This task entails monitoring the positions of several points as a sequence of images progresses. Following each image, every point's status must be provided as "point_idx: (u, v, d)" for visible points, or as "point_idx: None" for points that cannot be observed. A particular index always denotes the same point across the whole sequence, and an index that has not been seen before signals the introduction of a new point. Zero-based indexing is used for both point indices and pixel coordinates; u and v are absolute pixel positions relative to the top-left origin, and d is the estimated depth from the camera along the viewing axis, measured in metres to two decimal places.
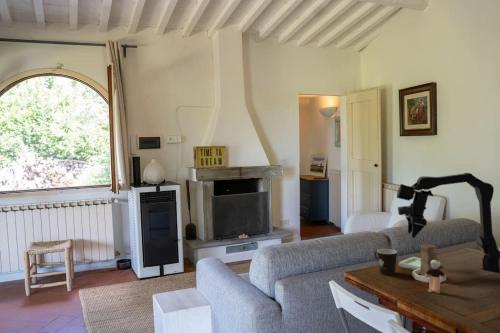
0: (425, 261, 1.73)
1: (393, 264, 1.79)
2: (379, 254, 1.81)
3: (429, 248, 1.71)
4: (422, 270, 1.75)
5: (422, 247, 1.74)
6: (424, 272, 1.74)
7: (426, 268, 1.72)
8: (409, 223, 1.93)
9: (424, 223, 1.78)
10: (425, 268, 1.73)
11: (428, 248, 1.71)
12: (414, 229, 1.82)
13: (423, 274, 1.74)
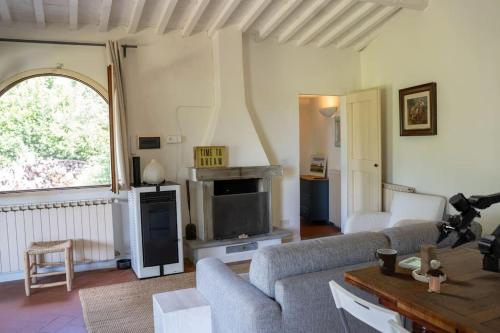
0: (425, 261, 1.73)
1: (393, 264, 1.79)
2: (379, 254, 1.81)
3: (429, 248, 1.71)
4: (422, 270, 1.75)
5: (422, 247, 1.74)
6: (424, 272, 1.74)
7: (426, 268, 1.72)
8: (441, 234, 1.81)
9: (474, 239, 1.68)
10: (425, 268, 1.73)
11: (428, 248, 1.71)
12: (458, 241, 1.70)
13: (423, 274, 1.74)
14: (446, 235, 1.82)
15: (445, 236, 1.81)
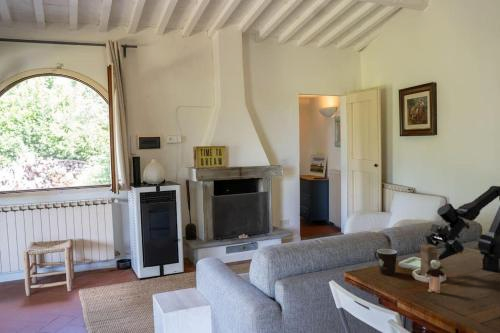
0: (425, 261, 1.73)
1: (393, 264, 1.79)
2: (379, 254, 1.81)
3: (429, 248, 1.71)
4: (422, 270, 1.75)
5: (422, 247, 1.74)
6: (424, 272, 1.74)
7: (426, 268, 1.72)
8: None
9: (461, 250, 1.67)
10: (425, 268, 1.73)
11: (428, 248, 1.71)
12: (445, 252, 1.69)
13: (423, 274, 1.74)
14: None
15: None
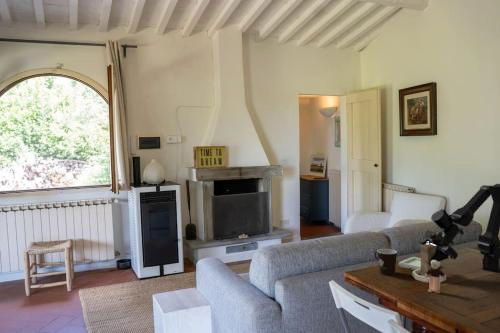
0: (425, 261, 1.73)
1: (393, 264, 1.79)
2: (379, 254, 1.81)
3: (429, 248, 1.71)
4: (422, 270, 1.75)
5: (422, 247, 1.74)
6: (424, 272, 1.74)
7: (426, 268, 1.72)
8: None
9: (455, 257, 1.66)
10: (425, 268, 1.73)
11: (428, 248, 1.71)
12: (436, 257, 1.71)
13: (423, 274, 1.74)
14: None
15: None
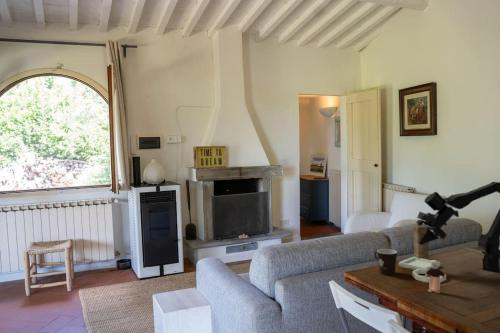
0: (416, 241, 1.81)
1: (393, 264, 1.79)
2: (379, 254, 1.81)
3: (419, 229, 1.80)
4: (415, 249, 1.84)
5: (414, 227, 1.83)
6: (416, 251, 1.82)
7: (417, 247, 1.81)
8: None
9: (443, 237, 1.73)
10: (416, 247, 1.81)
11: (418, 228, 1.80)
12: (426, 237, 1.78)
13: (415, 253, 1.83)
14: None
15: None
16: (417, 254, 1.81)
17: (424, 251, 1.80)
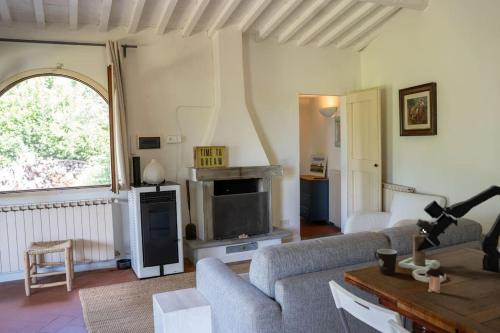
0: (414, 249, 1.90)
1: (393, 264, 1.79)
2: (379, 254, 1.81)
3: (416, 238, 1.88)
4: (413, 257, 1.92)
5: (413, 236, 1.91)
6: (414, 259, 1.91)
7: (414, 255, 1.89)
8: None
9: (437, 244, 1.80)
10: (414, 255, 1.90)
11: (415, 237, 1.88)
12: (423, 244, 1.85)
13: (413, 261, 1.91)
14: None
15: None
16: (414, 262, 1.90)
17: (420, 259, 1.88)
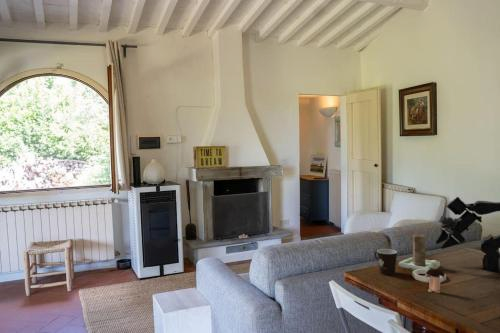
0: (414, 249, 1.90)
1: (393, 264, 1.79)
2: (379, 254, 1.81)
3: (416, 238, 1.88)
4: (413, 257, 1.92)
5: (413, 236, 1.91)
6: (414, 259, 1.91)
7: (414, 255, 1.89)
8: (441, 235, 1.92)
9: (461, 241, 1.77)
10: (414, 255, 1.90)
11: (415, 237, 1.88)
12: (447, 242, 1.82)
13: (413, 261, 1.91)
14: (448, 236, 1.92)
15: (447, 237, 1.92)
16: (414, 262, 1.90)
17: (420, 259, 1.88)
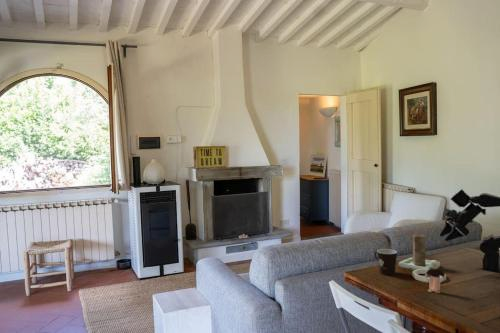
0: (414, 249, 1.90)
1: (393, 264, 1.79)
2: (379, 254, 1.81)
3: (416, 238, 1.88)
4: (413, 257, 1.92)
5: (413, 236, 1.91)
6: (414, 259, 1.91)
7: (414, 255, 1.89)
8: (445, 228, 1.92)
9: (465, 233, 1.77)
10: (414, 255, 1.90)
11: (415, 237, 1.88)
12: (451, 234, 1.82)
13: (413, 261, 1.91)
14: (452, 229, 1.92)
15: (451, 230, 1.92)
16: (414, 262, 1.90)
17: (420, 259, 1.88)
